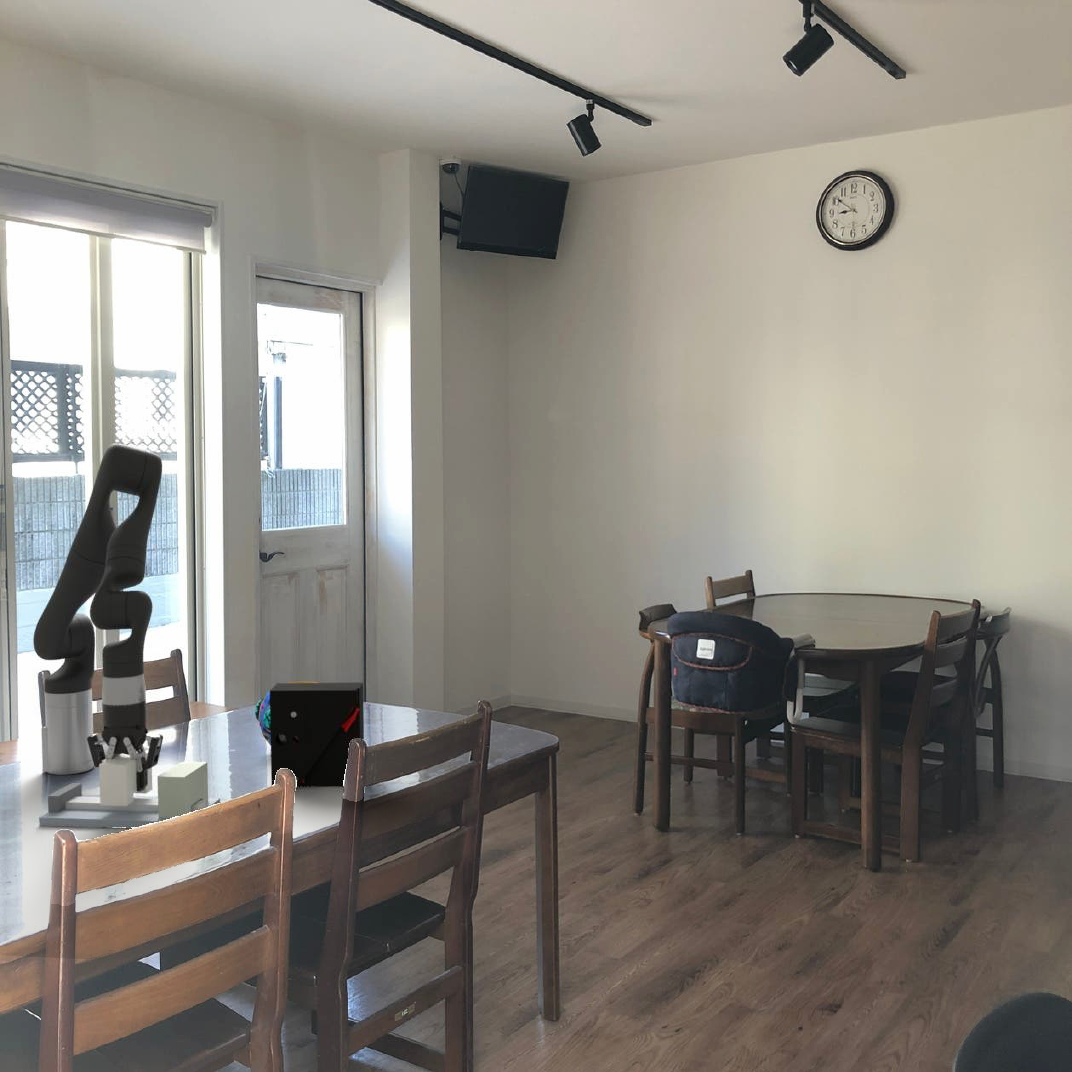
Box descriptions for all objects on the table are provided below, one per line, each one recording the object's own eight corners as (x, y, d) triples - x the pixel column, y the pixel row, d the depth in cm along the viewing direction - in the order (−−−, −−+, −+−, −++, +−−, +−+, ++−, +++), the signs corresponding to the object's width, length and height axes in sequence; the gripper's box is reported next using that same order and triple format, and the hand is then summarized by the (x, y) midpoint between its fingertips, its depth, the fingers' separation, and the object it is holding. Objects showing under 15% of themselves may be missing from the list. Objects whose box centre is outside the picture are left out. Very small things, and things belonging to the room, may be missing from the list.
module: (100, 805, 193) (99, 764, 193) (127, 788, 203) (126, 749, 202) (126, 806, 192) (125, 765, 192) (152, 789, 202) (151, 750, 202)
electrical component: (365, 774, 224) (364, 680, 223) (359, 789, 214) (358, 690, 212) (281, 775, 223) (279, 681, 222) (270, 790, 213) (269, 691, 212)
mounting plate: (39, 825, 192) (37, 776, 192) (80, 801, 206) (79, 755, 206) (188, 830, 189) (187, 780, 189) (220, 806, 203) (219, 759, 203)
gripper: (170, 695, 199) (172, 785, 201) (97, 694, 201) (100, 783, 202) (151, 704, 192) (154, 797, 193) (76, 702, 194) (79, 795, 195)
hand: (126, 789), depth 198 cm, fingers closed on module, 5 cm apart
